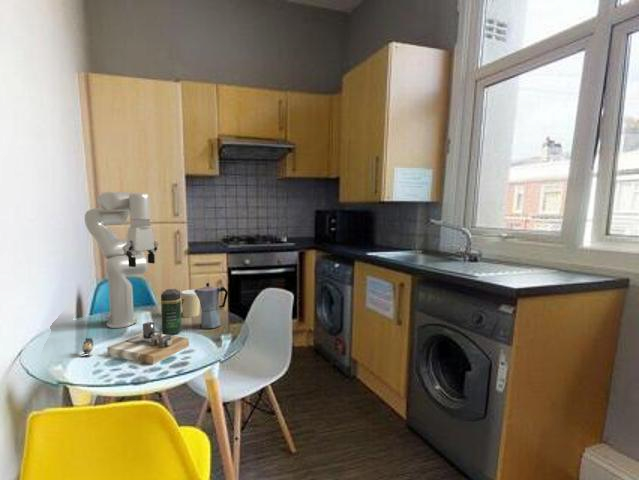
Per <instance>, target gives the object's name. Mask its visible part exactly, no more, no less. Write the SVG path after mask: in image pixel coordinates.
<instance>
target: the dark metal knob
mask: <svg viewBox="0 0 639 480" xmlns="http://www.w3.org/2000/svg"><path fill="white" fill-rule="evenodd" d="M155 331H156V330H155V322H154V321H153V322H151V321H150V322H148V321H147V322H145V323H142V333H143V336H141V341H146V342H151V337H152V336H155V333H156V332H155ZM159 338H160V337H157V338H155V343H157V344H159ZM170 344H172V339H166V340H165V345H170Z"/></svg>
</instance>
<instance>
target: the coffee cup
mask: <svg viewBox="0 0 639 480" xmlns="http://www.w3.org/2000/svg"><path fill="white" fill-rule="evenodd" d="M195 290H196V289H187V290H183V291H180V296H181V310H182V316H183V317H184V318H195V317H198V316H199V315H200V312H201V305H200V300H199V298H198V296H197V295H196V293H195V292H194V291H195Z"/></svg>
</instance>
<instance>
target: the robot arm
mask: <svg viewBox="0 0 639 480" xmlns="http://www.w3.org/2000/svg"><path fill="white" fill-rule="evenodd" d="M96 200H97V201H96V202H97V205H98V207H96V208H92V209H88V210H87V211H86V212H85V213H84V223H85V226H86V229H87V230H88V232H89V233H90V236H92V237H93V238H94V239H95V241H96V242H97V245H98V248H99V250H100V252H101V254H102V255H103V257H104V258H105V259H107V260H106V261H105V264H104V267H105V272H106V276H107V283H108V296H109V298H108V299H109V312H108V315H107V314H106V316H105V318H106V319H108V322H106V326H107V328H112V329H121V328H127V327H131V326H130V325H132V326H134V325H135V324H134V323H136V322H137V319H138V318H136V319H135V320H134V318H135V317H134V315H135V313H134V293H133V292H134V291H133V284H132V283H131V281H130V280H129V279H128V278H127V277H130V276H137V275H143V274H145V273H146V272H147V271H148V269H149V264H156V262H155V261H156V260H155V259H156V257H155V255H156V253H157V250H158V247H159V242H158V241H155V238H154V232H153V228H152V226H151V224H152V222H153V221H152V220H151V200H150V195H149V194H148V193H144V192H143V193H141V192H120V191H106V192H105V191H104V192H102V193H101V194H99V195H98V196H97V199H96ZM128 219H129V225H130V227H128V229H127V234H126V236H127V237H126V238H122V239H121V238H118V236H117V235H116V233H115V232H114V230H112V229H111V228H109V227H107V226H121V225H125V224H126V222H127V221H128ZM144 252H147V256H146V255H145V253H144ZM146 257H147V258H146ZM137 323H138V322H137ZM137 323H136V324H137ZM133 324H134V325H133Z"/></svg>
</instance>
